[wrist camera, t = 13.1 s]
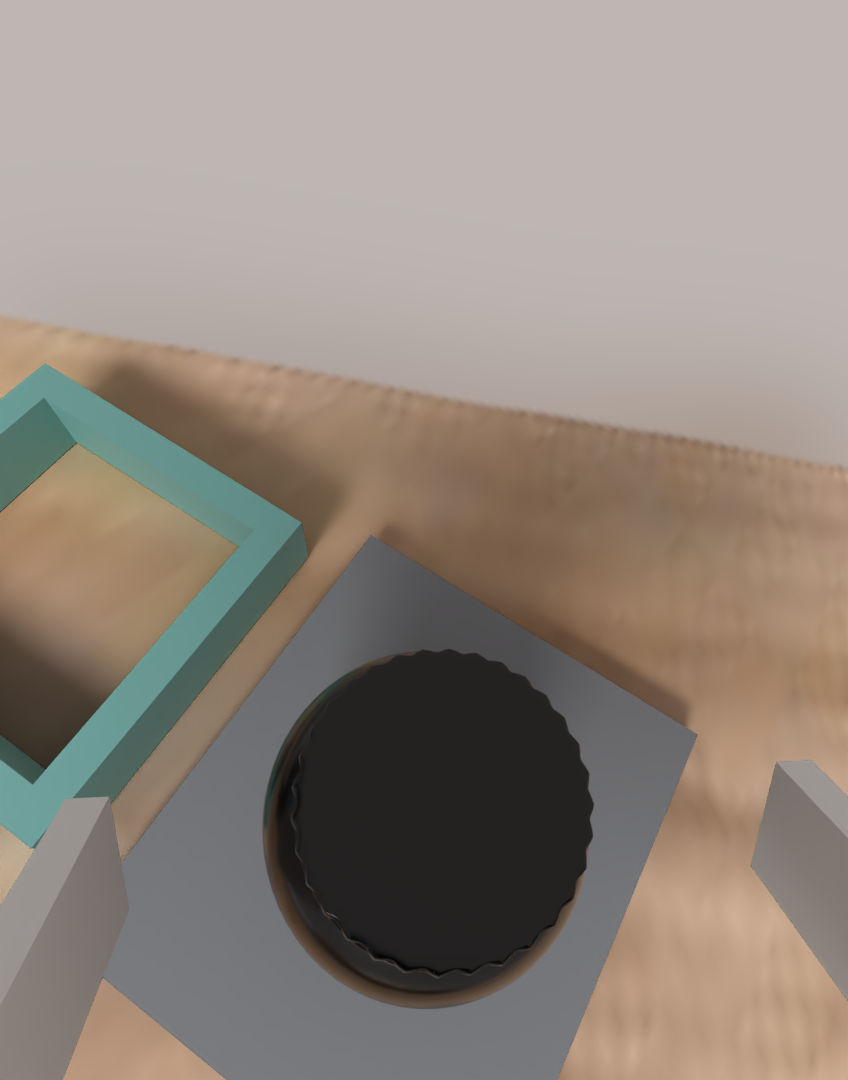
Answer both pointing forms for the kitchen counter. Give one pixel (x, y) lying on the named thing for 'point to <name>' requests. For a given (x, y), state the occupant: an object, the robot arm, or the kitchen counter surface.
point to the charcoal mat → (253, 914)
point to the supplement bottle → (427, 828)
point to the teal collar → (194, 637)
